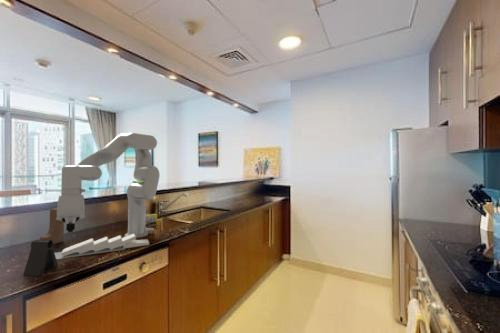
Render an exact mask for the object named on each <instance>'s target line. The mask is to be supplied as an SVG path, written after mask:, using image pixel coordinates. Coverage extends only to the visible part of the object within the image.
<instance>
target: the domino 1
mask: <svg viewBox="0 0 500 333" xmlns="http://www.w3.org/2000/svg"><path fill="white" fill-rule="evenodd" d="M94 241H95V240H94V238H89V239H87V240H84V241H81V242H78V243H76V244H74V245H71V246H68V247H65V248H64V249H62V251H61V252H62V255H63V257H64V256H66V255H69V254H72V253H74V252H77V251H79V250H82V249H84V248H87V247H90V246H92V245H94Z"/></svg>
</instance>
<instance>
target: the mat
mask: <svg viewBox="0 0 500 333" xmlns="http://www.w3.org/2000/svg"><path fill="white" fill-rule="evenodd" d="M123 250H126V248H123V245H122V246H119V247H117V248H114V249H112V250H110V247H107V248H105V249H102V250H99V251H97V252H95V251H94V249H92V250H90V251H87V252H84V253H82V254H79V251H77V252H74V253H72V254H69V255H66V256H64V257H63V255H62V251H58V252H54V253H55V257H56V260H62V259H67V258H68V259H69V258H75V257H81V256H89V255H95V254H96V255H97V254H102V253H109V252H116V251H123Z"/></svg>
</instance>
